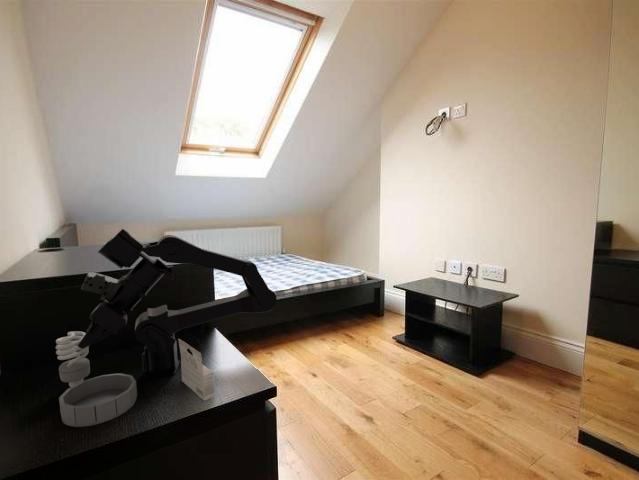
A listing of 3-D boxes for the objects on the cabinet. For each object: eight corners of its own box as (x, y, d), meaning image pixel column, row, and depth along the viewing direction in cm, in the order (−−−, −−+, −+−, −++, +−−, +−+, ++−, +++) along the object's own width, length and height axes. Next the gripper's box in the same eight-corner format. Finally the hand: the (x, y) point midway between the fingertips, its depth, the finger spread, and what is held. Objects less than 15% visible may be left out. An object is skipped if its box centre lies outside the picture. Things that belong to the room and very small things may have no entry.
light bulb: (87, 392, 72) (81, 335, 71) (55, 397, 71) (48, 339, 69) (96, 379, 78) (91, 326, 76) (66, 383, 76) (60, 329, 75)
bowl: (144, 386, 74) (142, 370, 73) (124, 421, 62) (122, 402, 62) (80, 393, 72) (78, 377, 71) (47, 431, 60) (45, 412, 59)
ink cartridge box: (192, 377, 78) (189, 334, 76) (215, 397, 69) (212, 349, 68) (180, 381, 76) (177, 337, 75) (203, 402, 68) (200, 353, 67)
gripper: (111, 252, 83) (59, 305, 79) (100, 265, 66) (33, 332, 63) (151, 281, 87) (103, 333, 84) (150, 300, 70) (89, 365, 67)
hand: (84, 339), depth 74 cm, fingers open, 9 cm apart
